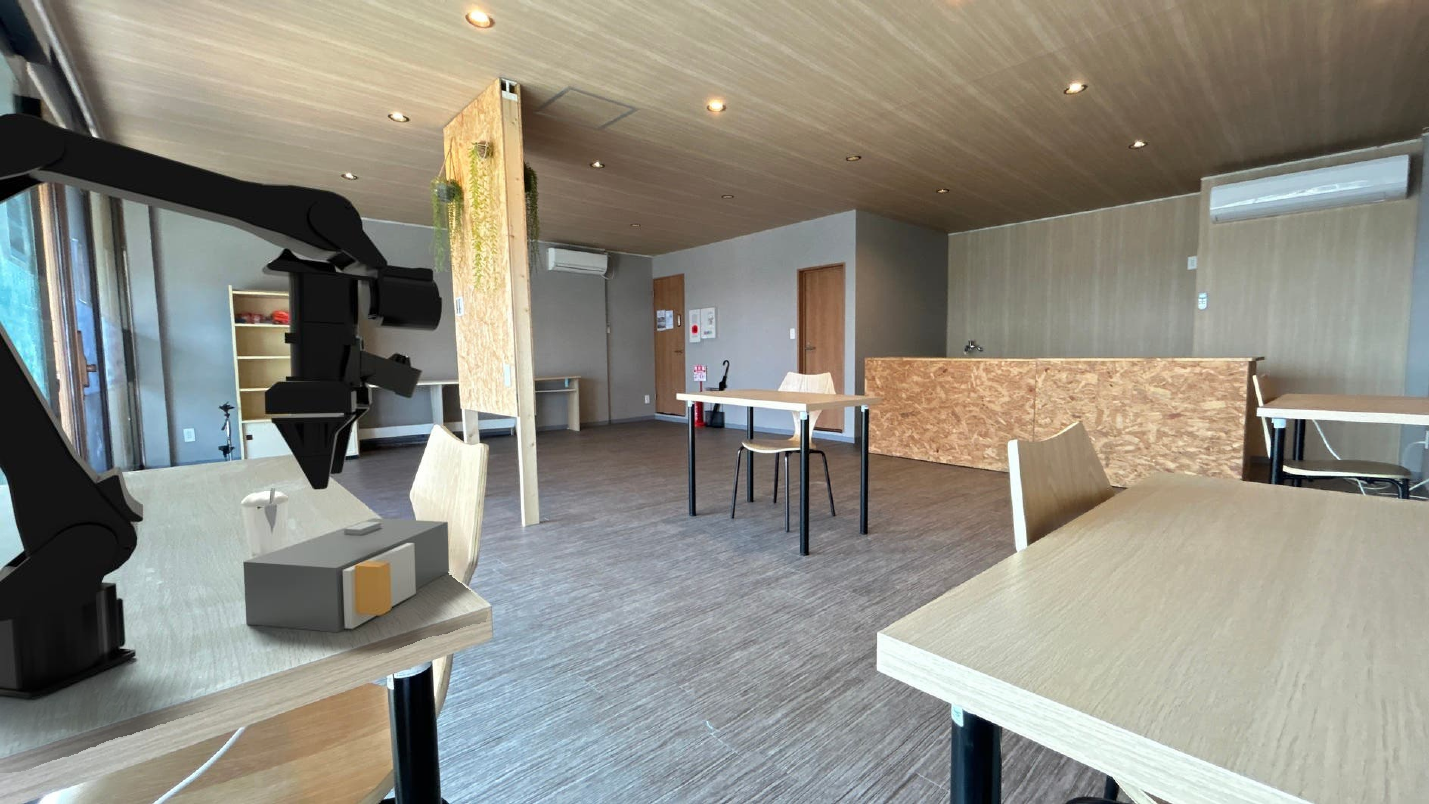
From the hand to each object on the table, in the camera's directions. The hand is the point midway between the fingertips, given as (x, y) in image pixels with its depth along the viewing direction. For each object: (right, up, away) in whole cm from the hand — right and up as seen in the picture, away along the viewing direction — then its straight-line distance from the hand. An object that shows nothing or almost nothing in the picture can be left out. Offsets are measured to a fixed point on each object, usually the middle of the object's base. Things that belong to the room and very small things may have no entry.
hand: (328, 480), depth 57 cm
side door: (+7, -13, -1) cm, 15 cm away
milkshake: (-16, -12, +12) cm, 24 cm away
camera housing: (+1, -13, +3) cm, 13 cm away
